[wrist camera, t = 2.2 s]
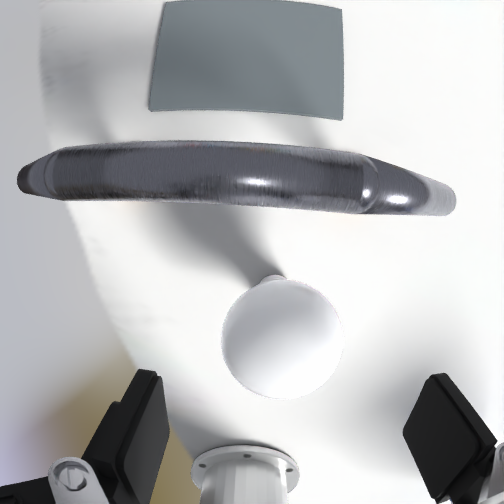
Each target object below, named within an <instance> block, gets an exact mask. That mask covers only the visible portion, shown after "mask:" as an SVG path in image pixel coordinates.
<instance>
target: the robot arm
mask: <svg viewBox="0 0 504 504" xmlns="http://www.w3.org/2000/svg"><path fill="white" fill-rule="evenodd" d="M403 436H404V439H405V441H406V443H407V445H408V447H409V449H410V451H411V454H412V456H413V458H414V460H415V462H416V465H417V467H418V469H419V471H420V473H421V476H422V478H423V480H424V482H425V485H426V487H427V489H428V492H429V494H430V496H431V498H433V499H435V501H436V504H439V503H442V502H445V501H447V500H449V499H450V498H451V500H452V503H451V504H504V443H501V444H500V445H498V447H497V448H495V446H494V445H495V444H496V443H497V440H496V438H495V437H494V435H493V434H492V433H491V431H490V430H489V428H488V427H487V426H486V424H485V423H484V422H483V420H482V419H481V418H480V416H479V415H478V414H477V412H476V411H475V410H474V408H473V407H472V406H471V404H470V403H469V402H468V400H467V399H466V398H465V396H464V395H463V394H462V393H461V391H460V390H459V389H458V388H457V386H456V385H455V384H454V382H453V381H452V380H451V379H450V377H449V376H448V375H447V374H446V373H440V374H433V375H431V376H430V377H429V379H427V380H426V382H425V384H424V386H423V388H422V391H421V393H420V395H419V397H418V400H417V402H416V404H415V406H414V408H413V410H412V412H411V414H410V416H409V418H408V420H407V422H406V424H405V426H404V428H403ZM168 438H169V423H168V417H167V411H166V404H165V397H164V390H163V382H162V377H161V376H157V373H156V372H155V371H149V370H143V369H138V371H137V372H136V374H135V376H134V378H133V380H132V381H131V383H130V385H129V387H128V389H127V391H126V392H125V394H124V396H123V398H122V400H121V402H116V401H114V402H113V403H112V404H111V405H110V407H109V409H108V410H107V412H106V414H105V416H104V417H103V419H102V421H101V423H100V425H99V426H98V428H97V430H96V432H95V434H94V436H93V437H92V439H91V441H90V443H89V445H88V447H87V448H86V450H85V452H84V454H83V456H82V458H81V459H79V458H75V457H64V458H61V459H58V460H57V461H56V462H54V463H53V464H52V465H51V467H50V468H49V472H48V476H47V477H43V478H38V479H34V480H30V481H25V482H21V483H16V484H10V485H5V486H1V487H0V504H149V503H150V499H151V495H152V492H153V489H154V485H155V482H156V478H157V475H158V471H159V468H160V465H161V461H162V458H163V455H164V451H165V448H166V444H167V442H168ZM299 477H300V475H299V468H298V466H297V464H296V463H295V462H294V460H293V459H291V458H290V457H288V456H287V455H285V454H283V453H281V452H279V451H276V450H272V449H269V448H264V447H259V446H248V445H234V446H225V447H220V448H216V449H212V450H210V451H207V452H205V453H203V454H201V455H200V456H198V457H197V458H196V459H195V461H194V462H193V465H192V468H191V478H192V480H193V482H194V484H195V485H196V486H197V487H198V488H199V489H201V490H202V491H201V498H200V504H288V494H287V493H289V492H290V491H292V490H293V489H294V488H295V487H296V486H297V484H298V482H299Z"/></svg>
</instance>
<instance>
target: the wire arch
mask: <svg viewBox="0 0 504 504" xmlns="http://www.w3.org/2000/svg"><path fill="white" fill-rule="evenodd" d="M17 185H18V187H19V189H20V190H21V191H22V192H23V193H26V194H31V195H36V196H42V197H47V198H52V199H57V200H62V201H154V202H186V203H209V204H229V205H247V206H262V207H277V208H290V209H303V210H315V211H326V212H337V213H348V214H389V215H428V216H446V215H448V214H450V213H451V212H452V211H453V210H454V208H455V206H456V196H455V193H454V191H453V190H452V189H451V188H450V187H449V186H447V185H445V184H443V183H440V182H438V181H435V180H433V179H430V178H428V177H425V176H423V175H420V174H417V173H415V172H412V171H409V170H406V169H404V168H401V167H398V166H395V165H392V164H389V163H386V162H383V161H380V160H377V159H374V158H371V157H368V156H365V155H361V154H357V153H351V152H344V151H337V150H329V149H321V148H312V147H302V146H292V145H280V144H267V143H252V142H232V141H140V142H120V143H105V144H92V145H82V146H72V147H65V148H62V149H59V150H57V151H55V152H53V153H50V154H48V155H47V156H44V157H42V158H40V159H38V160H36V161H34V162H32V163H30V164H28V165H26V166H24V167H23V168H22V169H21V170H20V171H19V173H18V176H17Z"/></svg>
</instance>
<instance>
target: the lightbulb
mask: <svg viewBox="0 0 504 504" xmlns="http://www.w3.org/2000/svg"><path fill="white" fill-rule="evenodd" d="M221 348H222V354H223V357H224V361H225V363H226V365H227V367H228V369H229V371H230V373H231V374H232V375H233V377H234V378H235V379H236V380H237V381H238V382H239V383H240V384H241V385H242V386H243V387H245V388H246V389H247V390H249V391H251V392H252V393H254V394H256V395H259V396H262V397H265V398H269V399H276V400H286V399H293V398H298V397H301V396H304V395H306V394H308V393H310V392H312V391H314V390H316V389H317V388H318V387H320V386H321V385H322V384H323V383H324V382H325V381H326V380H327V379H328V378H329V377H330V376H331V375H332V373H333V372H334V370H335V368H336V367H337V365H338V362H339V360H340V357H341V353H342V349H343V328H342V324H341V320H340V318H339V315H338V313H337V311H336V309H335V308H334V306H333V305H332V303H331V302H330V301H329V300H328V299H327V297H325V296H324V295H323V294H322V293H321V292H320V291H318V290H317V289H315V288H314V287H312V286H310V285H308V284H305V283H302V282H299V281H294V280H287V279H286V278H285V277H283V276H280V275H270V276H267V277H265V278H264V279H263V280H262V281H261V282H260V283H259V284H258V285H256V286H254V287H252V288H251V289H249V290H248V291H246V292H245V293H244V294H242V295H241V296H240V297H239V298H238V299H237V300H236V301H235V303H234V304H233V305H232V307H231V308H230V310H229V312H228V313H227V315H226V318H225V320H224V323H223V327H222V333H221Z"/></svg>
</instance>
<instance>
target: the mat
mask: <svg viewBox="0 0 504 504" xmlns="http://www.w3.org/2000/svg"><path fill="white" fill-rule="evenodd" d="M343 102H344V53H343V22H342V9H338V8H333V7H327V6H321V5H315V4H308V3H300V2H291V1H281V0H184V1H174V2H166V6H165V10H164V15H163V20H162V25H161V30H160V35H159V41H158V46H157V52H156V59H155V65H154V72H153V79H152V87H151V95H150V103H149V110H150V111H151V112H152V111H175V110H230V111H253V112H269V113H282V114H292V115H302V116H311V117H319V118H326V119H334V120H340V121H341V120H342V119H343Z"/></svg>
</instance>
